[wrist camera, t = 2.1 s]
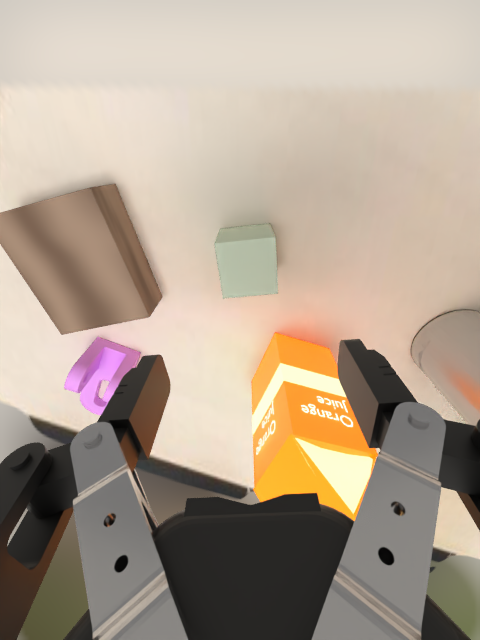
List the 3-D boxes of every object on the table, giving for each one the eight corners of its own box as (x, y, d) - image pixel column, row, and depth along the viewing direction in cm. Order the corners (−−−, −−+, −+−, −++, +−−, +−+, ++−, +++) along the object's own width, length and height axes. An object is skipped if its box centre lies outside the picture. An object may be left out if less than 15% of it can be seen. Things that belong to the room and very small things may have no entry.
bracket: (98, 336, 34) (66, 372, 28) (141, 351, 35) (119, 390, 29) (82, 400, 40) (53, 442, 34) (119, 412, 41) (97, 454, 35)
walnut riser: (116, 183, 25) (89, 187, 21) (163, 295, 31) (149, 317, 27) (25, 209, 27) (-18, 217, 22) (86, 312, 32) (61, 334, 28)
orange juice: (330, 348, 34) (417, 536, 17) (301, 395, 38) (346, 583, 21) (273, 331, 33) (304, 514, 16) (249, 381, 37) (253, 569, 20)
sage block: (269, 223, 27) (275, 237, 21) (272, 270, 29) (278, 293, 24) (220, 228, 27) (214, 243, 22) (226, 275, 29) (222, 298, 24)
